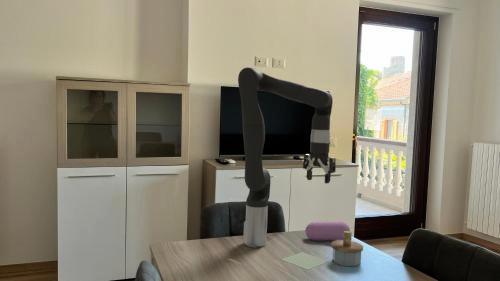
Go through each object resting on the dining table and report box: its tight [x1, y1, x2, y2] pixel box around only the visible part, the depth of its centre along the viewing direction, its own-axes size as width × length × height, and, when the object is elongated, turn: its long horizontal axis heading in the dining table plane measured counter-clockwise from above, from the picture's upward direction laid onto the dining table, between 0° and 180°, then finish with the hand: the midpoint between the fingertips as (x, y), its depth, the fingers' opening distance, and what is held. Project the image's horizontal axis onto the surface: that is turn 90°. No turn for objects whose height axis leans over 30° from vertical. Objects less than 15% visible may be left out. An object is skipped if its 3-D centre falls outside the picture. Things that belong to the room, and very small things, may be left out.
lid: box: [330, 231, 364, 253], centre depth 157 cm, size 12×12×6 cm
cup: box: [332, 248, 362, 267], centre depth 158 cm, size 10×10×6 cm
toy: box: [304, 221, 351, 241], centre depth 185 cm, size 8×9×20 cm
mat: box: [280, 251, 329, 270], centre depth 158 cm, size 13×13×1 cm
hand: (318, 181), depth 163 cm, fingers open, 8 cm apart
